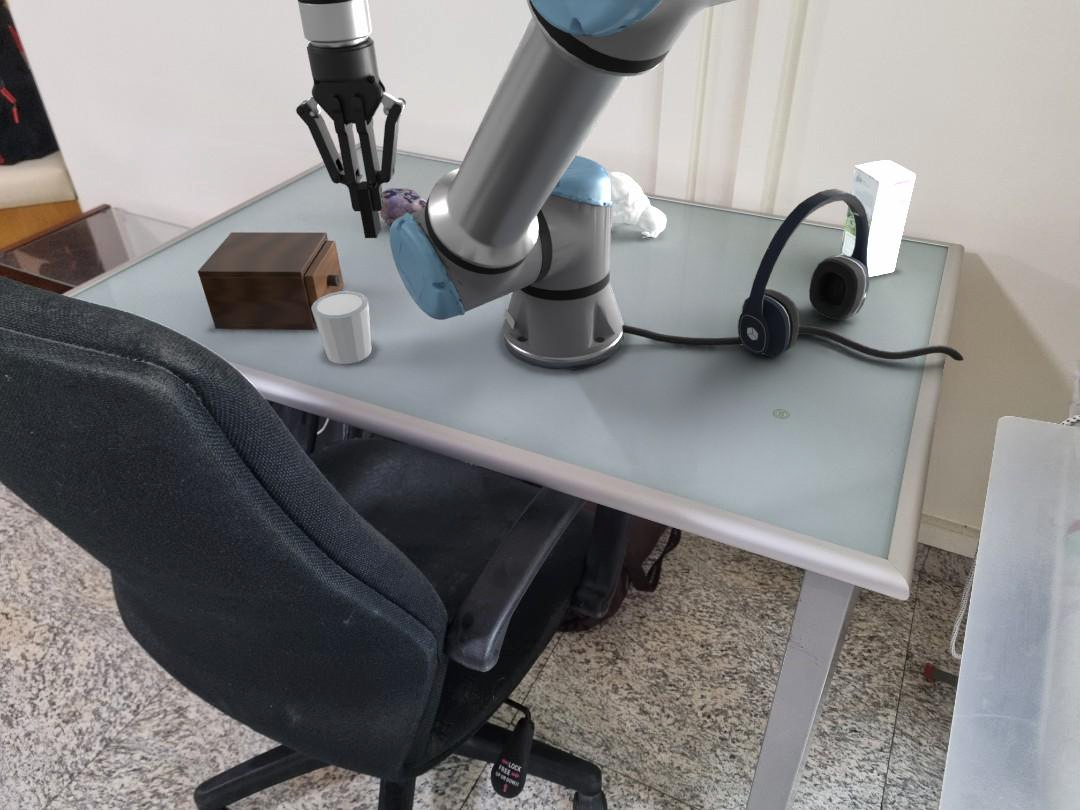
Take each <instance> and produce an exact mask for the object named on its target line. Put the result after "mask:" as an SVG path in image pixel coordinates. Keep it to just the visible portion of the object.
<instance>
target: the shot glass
mask: <svg viewBox="0 0 1080 810" xmlns="http://www.w3.org/2000/svg"><path fill="white" fill-rule="evenodd" d="M311 309H312V312H313V315H314V318H315V321H316V324H317V325H316V327H317V330H318V333H319V336H320V339H321V341H322V344H323V348H324V351H325V353H326V356H327V359H328V360H329V361H330V362H332V363H334V364H337V365H350V364H356V363H359V362H361V361H363V360H365V359H367V358H368V357H369V356H370V355H371V352H372V350H373V349H372V346H373V345H372V334H371V321H370V319H371V318H370V307H369V300H368V298H367V296H366V295H365V294H362V293H361V292H358V291H352V290H343V291H342V290H340V291H339V292H335V293H330V294H327V295H325V296H323V297H320V298H319V299H318V300H316V301H315V302H314V303H313V305H312V308H311Z"/></svg>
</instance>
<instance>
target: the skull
mask: <svg viewBox="0 0 1080 810" xmlns="http://www.w3.org/2000/svg"><path fill="white" fill-rule="evenodd" d="M382 191H383V198H384V206H383V208H382V210H381V211H379V217H380V218H381V219H382V221H383V222H384V223H385V225H386V226H387V227H389V228H391V225H392V223H393V222H394V221H395V220H396V219H398V218H399V217H401V216H403V215H404V214H405V213H410V214H411V213H414V212H417V211H419V210H421V209H423V208H424V207H425V204H426V202H427V200H425V199H424V198H422V197H421V196H420V195H419V194H418V193H417V191H415V190H414V189H412V188H409V187H405V188H393V187H389V188H386V189H385V190H382Z"/></svg>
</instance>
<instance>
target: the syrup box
mask: <svg viewBox="0 0 1080 810" xmlns="http://www.w3.org/2000/svg"><path fill="white" fill-rule="evenodd" d="M915 180H916V173H914V172H913V171H910V170H908V169H907V168H905V167H903V166H901V165H899V164H897V163H895V162H893V161H891V160H889V159H888V160H887V159H886V160H878V161H877V160H875V161H871V162H867V163H864V164H859V165H855V168H854V172H853V177H852V185H851V188H850V194H852V195H854V196H856V197H857V198H858V199H859V200H860V201H861V203H862V204H863V206H864V208H865V211H866V215H867V219H868V225H869V241H868V254H867V262H868V270H869V278H871V277H875V276H880V275H884V274H889V273H893V272H894V271H895V268H896V263H897V258H898V254H899V249H900V245H901V241H902V236H903V232H904V226H905V223H906V218H907V214H908V210H909V205H910V201H911V197H912V192H913V188H914V185H915V184H914V183H915ZM855 238H856V226H855V219H854V215H853V213H852V211H851V209H850V207H849V206H848V205H847V211H846V216H845V221H844V227H843V233H842V239H841V244H840V248H839V249H840V250H839V254H838V255H846V256H851V255H852V253H853V250H854V246H855Z"/></svg>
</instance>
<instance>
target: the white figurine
mask: <svg viewBox="0 0 1080 810" xmlns="http://www.w3.org/2000/svg"><path fill="white" fill-rule="evenodd" d="M608 174H609V176H610V187H611V199H612V201H613V205H612V211H611V229H612V228H613V226H617V225H622V224H625V225H628V226H632V225H633V226H634V225H635V226H636V227H639V228H641V229H643V231H641V233H640V235H644V236H642V239H644V238H649V237H651V238H654V239H655V238H657V237H658V236H659V234H660V233H662V232H663V231H664V230H665V228H666V225H667V217H666V214H665V213H664V212H662V210H660V209H658V208H657V207H655V206H653V205H651V203H650V199H648V197H647V195H646V194H645V193H644V192H643V190H642V188H641V186H640V185H639V184H638V183H637V182H635V181H634V179H633V178H632V177H630V176H629V175H628V174H625V173H623V172H621V171H610V172H608Z"/></svg>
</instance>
